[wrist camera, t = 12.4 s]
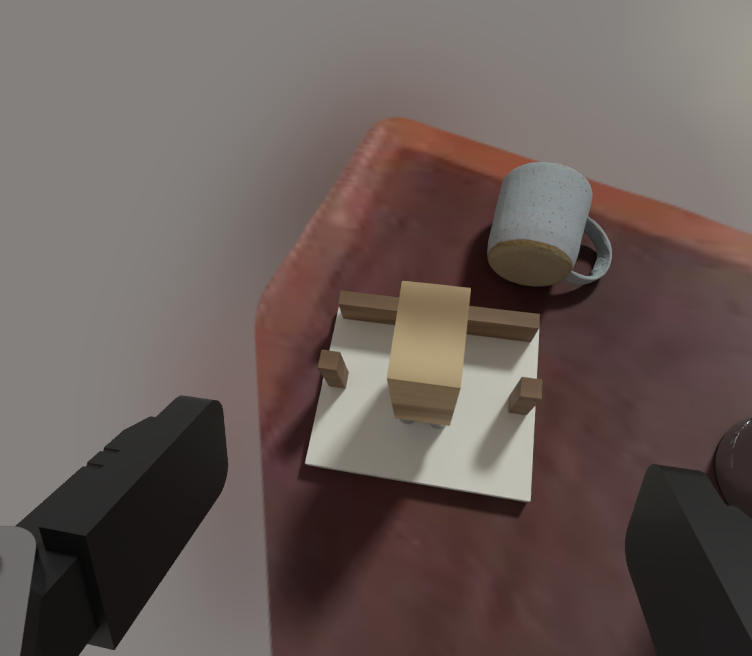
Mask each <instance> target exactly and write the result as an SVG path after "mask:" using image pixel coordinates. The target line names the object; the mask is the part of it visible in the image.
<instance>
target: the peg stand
mask: <svg viewBox="0 0 752 656" xmlns="http://www.w3.org/2000/svg"><path fill="white" fill-rule="evenodd" d="M394 329H395V325H389V324H381V323H373V322H365V321H358V320H350V319H343V316H342V313H341V311H340V308H339V309H338V314H337V318H336V323H335V327H334V332H333V337H332V341H331V346H330V350H329V351H337V352H340V353H341V355H342V358H343V360H344V362H345V365H346V367H347V369H348V372H349V375H348V380H347V385H346V389H343V388H337V387H330V386H328V384H327V382H326V381H325V379H324V378H323V383H322V387H321V392H320V397H319V401H318V406H317V410H316V415H315V420H314V424H313V429H312V433H311V438H310V443H309V447H308V452H307V456H306V461H305V464H307V465H309V466H315V467H321V468H327V469H333V470H339V471H344V472H350V473H356V474H362V475H368V476H374V477H380V478H386V479H392V480H398V481H404V482H409V483H415V484H421V485H427V486H433V487H439V488H445V489H451V490H457V491H463V492H469V493H474V494H480V495H486V496H492V497H498V498H504V499H510V500H516V501H522V502H530V499H531V479H532V460H533V440H534V420H535V407H534V408H533V409H532V410H531V411H530V412H529V413H528V414H527V415H522V414H515V413H508V410H509V396H510V394H511V392H512V391H513V389H514V388H515V386H516V385H517V383H518V382H519V380H520V379H521V377H528V378H535V379H537V362H538V342H539V329H538V331H537V333H536V335H535V336H534V338H533V340H532V341H531V342H524V341H516V340H508V339H500V338H492V337H484V336H476V335H468V334H466V342H465V352H464V362H463V371H462V381H461V389H460V393H459V396H458V399H457V403H456V406H455V410H454V413H453V417H452V420H451V424H450V426H447V425H446V426H445V427H444V428H442V429H436V428H433V427H432V426H431V425H430V424H429V423H426V422H419V421H415V422H414V423H412V424H404V423H402V422H401V421H400V420H399V419H398V418H395V417H394V412H393V407H392V402H391V397H390V392H389V387H388V383H387V373H388V366H389V360H390V354H391V348H392V341H393V335H394Z"/></svg>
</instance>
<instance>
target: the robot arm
mask: <svg viewBox="0 0 752 656" xmlns="http://www.w3.org/2000/svg"><path fill="white" fill-rule="evenodd" d="M715 469H716V475H717V481H718V484H719V486H720V489H721V491H722V494H723V496H724V498H725V499H726V501H727V503H728V504H729V505H725V503H724V502H723V500H722V499H721V497H720V495H719V494H718V492H717V491H716V489H715V488H714V486H713V485H712V483H711V482H710V480H709V478H708V477H707V476H706V474H704V473H703V472H702V471H698V470H691V469H684V468H677V467H670V466H663V465H656V464H653V465H651V466H649V468H648V469H647V471H646V473H645V476H644V479H643V482H642V485H641V488H640V491H639V494H638V497H637V500H636V503H635V506H634V510H633V513H632V516H631V519H630V522H629V525H628V528H627V532H626V539H625V554H626V562H627V566H628V570H629V573H630V576H631V579H632V582H633V584H634V587H635V590H636V593H637V596H638V599H639V602H640V605H641V608H642V611H643V614H644V617H645V620H646V623H647V626H648V629H649V632H650V635H651V638H652V641H653V644H654V646H655V649H656V652H657V655H658V656H752V418H750V419H747V420H744V421H742V422H740V423H738V424H737V425H735V426H733V427H732V428H731V429H730V430H729V431H728V432H727V433H726V434H725V435H724V437H723V438H722V440H721V442H720V443H719V446H718V450H717V453H716V463H715ZM227 471H228V458H227V448H226V436H225V426H224V415H223V408H222V405H221V403H220V402H219V401H217V400H210V399H202V398H196V397H188V396H179V397H177V398H176V399H175V400H174V401H172V402H171V403H170V404H169V405H168V406H167V407H166V408H165V409H164V410H163V411H162V412H161V413H160V414H159V415H157V416H156V417H148V418H147V419H144V420H142V421H141V422H139V423H137V424H135V425H133V426H131V427H129V428H127V429H125V430H123V431H122V432H121V433H120V434H119V435H118V436H117V437H115V438H114V439H113V440H112V441H111V442H110V443H109V444H107V445H106V446H105V447H104V451H103V452H102V451H100V452H99V453H97V454H96V455H95V456H94V457H93V458H92V459H91V460H89V461H88V462H87V466H86V467H84V466H83V467H82V468H80V469H79V470H78V471H77V472H76V473H75V474H74V475H72V476H71V477H70V478H69V479H68V480H67V481H66V482H65V483H63V484H62V485H61V486H60V487H59V488H58V489H57V490H56V491H55V492H53V493H52V494H51V495H50V496H49V497H48V498H46V500H44V501H43V502H42V503H41V504H40V505H39V506H37V507H36V508H35V509H34V510H33V511H32V512H31V513H30V514H29V515H27V516H26V517H25V518H24V519H23V520H22V521H21V522H19V523H18V524H17V525H16V526H0V656H79V654H80V653H81V652H82V650H83V649H84V647H85V646H86V645H87V644H91V645H94V646H99V647H103V648H107V649H112V650H115V648H116V647H117V646H118V644H119V643H120V641H121V640H122V638H123V637H124V635H125V634H126V632H127V631H128V629H129V628H130V626H131V625H132V623H133V622H134V621H135V619H136V618H137V616H138V614H139V613H140V611H141V610H142V609H143V607H144V606H145V604H146V603H147V601H148V600H149V598H150V597H151V596H152V594H153V593H154V591H155V590H156V588H157V587H158V585H159V583H160V582H161V581H162V579H163V578H164V576H165V575H166V573H167V572H168V571H169V569H170V568H171V566H172V565H173V563H174V562H175V560H176V559H177V557H178V556H179V554H180V553H181V551H182V550H183V548H184V547H185V545H186V544H187V542H188V541H189V540H190V538H191V537H192V535H193V534H194V532H195V531H196V529H197V528H198V526H199V525H200V523H201V522H202V520H203V519H204V518H205V516H206V514H207V513H208V512H209V510H210V509H211V507H212V506H213V504H214V503H215V501H216V500H217V498H218V497H219V495H220V494H221V492H222V490H223V487H224V484H225V481H226V477H227Z"/></svg>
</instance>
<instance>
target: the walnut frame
mask: <svg viewBox="0 0 752 656" xmlns="http://www.w3.org/2000/svg"><path fill="white" fill-rule="evenodd" d="M398 304H399V297H391V296H382V295H374V294H365V293H357V292H348V291H341V293H340V298H339V302H338V305H339V308H340V311H341V313H342V316H343V319H350V320H358V321H365V322H373V323H381V324H389V325H395V323H396V316H397V310H398ZM539 321H540V314H534V313H526V312H517V311H509V310H500V309H492V308H483V307H475V306H469V312H468V322H467V332H466V334H468V335H476V336H484V337H492V338H500V339H508V340H516V341H524V342H531V341H532V340H533V338H534V336H535V335H536V333H537V331H538V329H539ZM318 369H319V371H320V372H321V374H322V376H323V377H324V379H325V381H326V382H327V384H328V386H330V387H337V388H343V389H346V385H347V380H348V375H349V372H348V369H347V367H346V365H345V362H344V360H343V358H342V355H341V353H340V352H337V351H329V350H321V354H320V359H319V363H318ZM541 399H542V379H535V378H528V377H521V379H520V380H519V382H518V383H517V385H516V386H515V388H514V389H513V391H512V392H511V394H510V396H509V410H508V413H515V414H522V415H527V414H528V413H529V412H530V411H531V410H532V409H533V408H534V407H535V406H536V405H537V403H538V402H539V401H540V400H541Z"/></svg>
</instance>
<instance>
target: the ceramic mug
mask: <svg viewBox="0 0 752 656" xmlns="http://www.w3.org/2000/svg"><path fill="white" fill-rule="evenodd" d="M591 202H592V189H591V185H590V184H589V182H588V181H587V180H586V179H585V177H584V176H583V175H581V174H580V173H578V172H577V171H575V170H574V169H572V168H570V167H567V166H564V165H560V164H557V163H549V162H536V163H529V164H525V165H522V166H519V167H517V168H515V169H514V170H512V171H511V172H510V173H508V175H507V176H506V177H505V178H504V180H503V182H502V185H501V189H500V194H499V198H498V202H497V206H496V210H495V215H494V220H493V224H492V228H491V232H490V236H489V240H488V250H487V258H488V263H489V265H490V266H491V268H492V269H493V270H494V271H495V272H496V273H497V274H498V275H499V276H501V277H503V278H504V279H506V280H508V281H511V282H514V283H517V284H521V285H526V286H536V287H537V286H548V285H553V284H555V283H558V282H560V281H562V280H565V281H567V282H569V283H572V284H577V285H584V284H589V283H591V282H593V281H596V280H598V279H600V278H601V277H602V276H603V275H605V273H606V272H607V270H608V269H609V266H610V263H611V259H612V249H611V245H610V242H609V239H608V237H607V236H606V234H605V232H604V231H603V230H602V228H601V227H600V226H599V225H598V224H597V223H596V222H595V221H594V220H592V219H591V218H589V217H588V213H589V209H590V206H591ZM583 232H585V233H586V234H587V235H588V236H589V237H590V239H591V240H592V242H593V243H594V246H595V248H596V250H597V252H596V253H597V258H596V262H595V265H594V268H593V269H592V270H591V274H590V276H584V275H580V274H578V273H576V272H573V271H572V269H573V267H574V265H575V262H576V260H577V257H578V253H579V249H580V244H581V239H582V235H583Z"/></svg>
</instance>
